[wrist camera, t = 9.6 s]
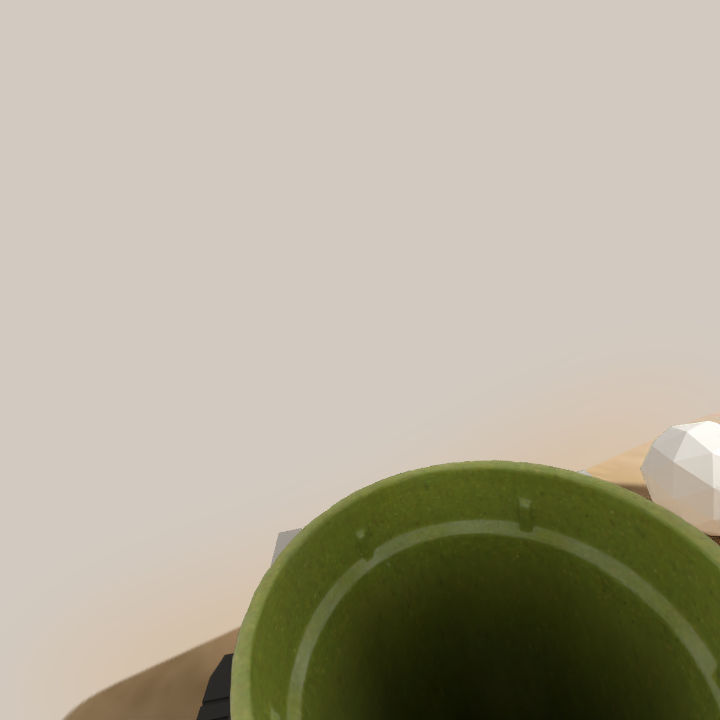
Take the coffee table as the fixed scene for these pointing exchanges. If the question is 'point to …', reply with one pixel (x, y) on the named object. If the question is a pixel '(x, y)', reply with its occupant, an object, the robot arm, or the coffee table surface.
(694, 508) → the geometric ball
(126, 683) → the coffee table surface
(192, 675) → the coffee table surface
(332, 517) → the plant pot
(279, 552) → the robot arm
